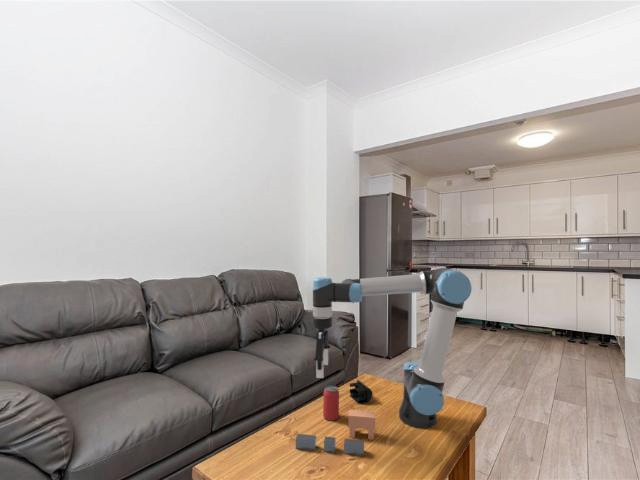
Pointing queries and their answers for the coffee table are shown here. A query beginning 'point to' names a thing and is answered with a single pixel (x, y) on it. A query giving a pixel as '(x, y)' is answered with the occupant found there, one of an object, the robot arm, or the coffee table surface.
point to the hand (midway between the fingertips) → (322, 370)
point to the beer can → (331, 403)
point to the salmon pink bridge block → (361, 422)
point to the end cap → (360, 392)
